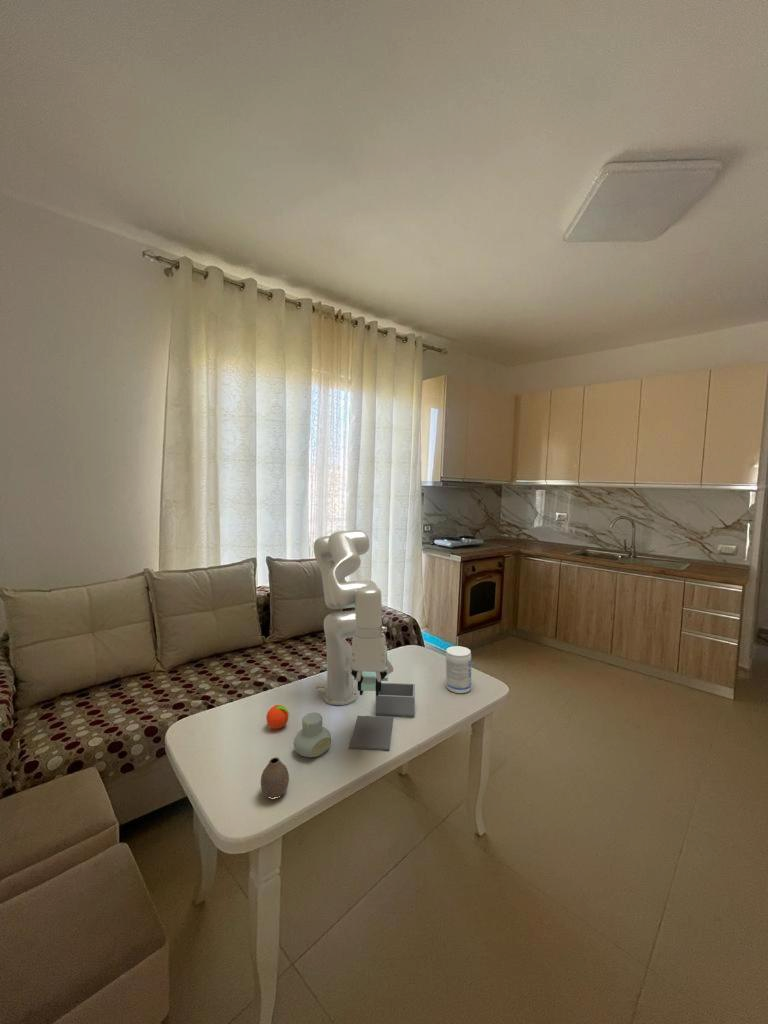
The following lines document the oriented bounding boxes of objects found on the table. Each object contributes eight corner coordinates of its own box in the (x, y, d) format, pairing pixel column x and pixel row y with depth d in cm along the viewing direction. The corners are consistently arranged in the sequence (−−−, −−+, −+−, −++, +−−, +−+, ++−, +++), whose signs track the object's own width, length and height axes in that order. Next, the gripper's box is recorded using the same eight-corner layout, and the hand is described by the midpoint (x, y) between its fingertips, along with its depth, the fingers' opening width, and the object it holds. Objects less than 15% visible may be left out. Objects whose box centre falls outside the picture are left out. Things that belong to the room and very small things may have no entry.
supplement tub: (474, 693, 148) (475, 655, 147) (450, 695, 147) (450, 656, 146) (466, 680, 157) (466, 644, 156) (442, 682, 156) (442, 646, 155)
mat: (348, 748, 117) (348, 746, 117) (357, 717, 133) (357, 715, 133) (389, 750, 116) (389, 748, 116) (393, 719, 132) (393, 717, 132)
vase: (255, 799, 98) (254, 766, 98) (272, 780, 105) (271, 748, 104) (278, 807, 96) (277, 773, 95) (294, 787, 102) (293, 754, 102)
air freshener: (305, 766, 110) (304, 731, 109) (289, 752, 116) (288, 719, 115) (336, 747, 118) (335, 715, 117) (319, 735, 124) (318, 704, 123)
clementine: (295, 722, 130) (295, 701, 130) (285, 735, 124) (284, 713, 123) (273, 719, 132) (273, 698, 132) (262, 731, 126) (261, 710, 125)
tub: (375, 715, 134) (375, 695, 134) (378, 701, 143) (378, 682, 142) (414, 717, 133) (414, 697, 132) (414, 702, 142) (414, 683, 141)
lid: (361, 661, 130) (361, 655, 130) (391, 662, 130) (391, 656, 129) (350, 690, 112) (350, 683, 112) (386, 691, 111) (385, 685, 111)
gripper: (398, 626, 116) (399, 687, 117) (342, 625, 117) (343, 685, 118) (397, 636, 108) (397, 701, 109) (337, 634, 110) (338, 698, 111)
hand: (369, 692), depth 114 cm, fingers closed on lid, 4 cm apart
